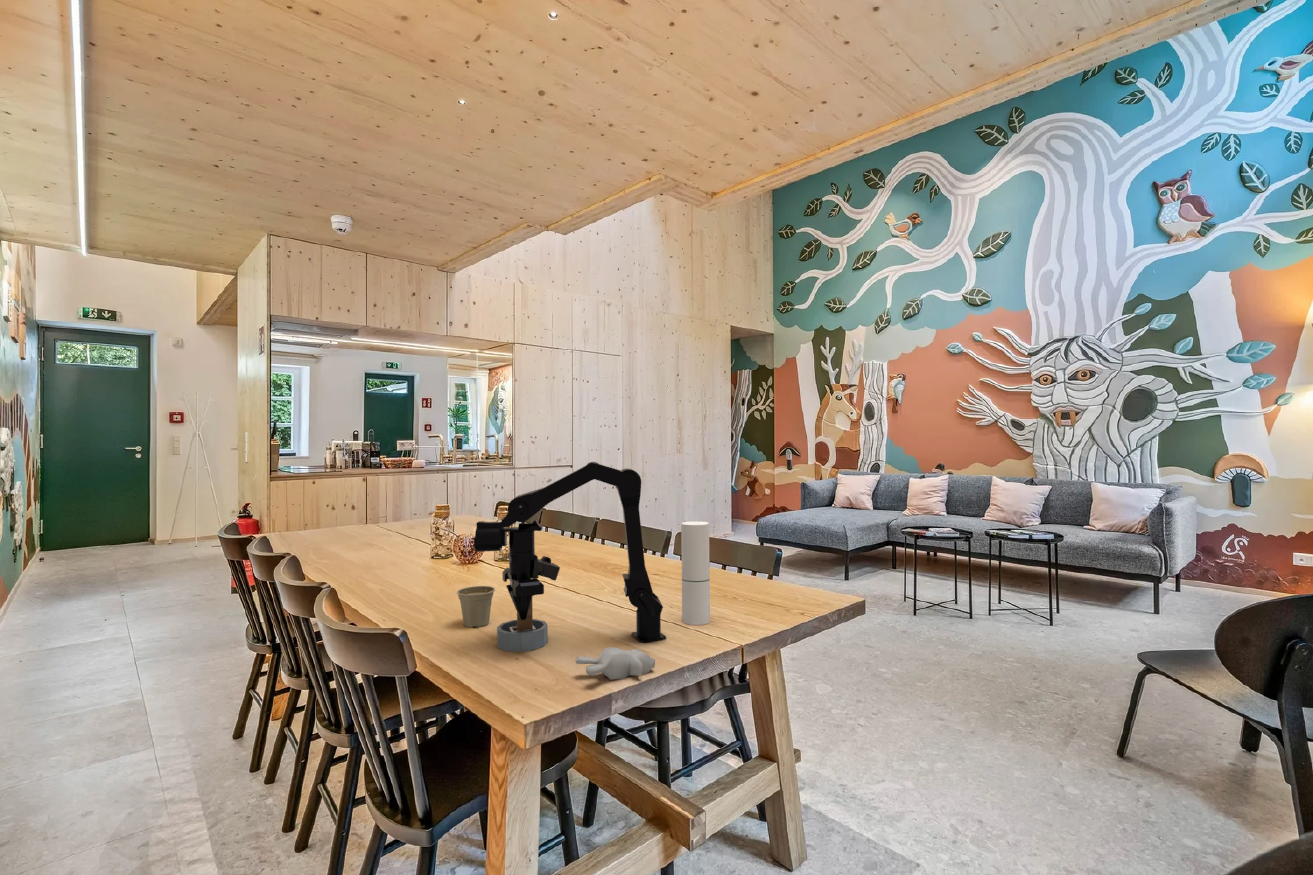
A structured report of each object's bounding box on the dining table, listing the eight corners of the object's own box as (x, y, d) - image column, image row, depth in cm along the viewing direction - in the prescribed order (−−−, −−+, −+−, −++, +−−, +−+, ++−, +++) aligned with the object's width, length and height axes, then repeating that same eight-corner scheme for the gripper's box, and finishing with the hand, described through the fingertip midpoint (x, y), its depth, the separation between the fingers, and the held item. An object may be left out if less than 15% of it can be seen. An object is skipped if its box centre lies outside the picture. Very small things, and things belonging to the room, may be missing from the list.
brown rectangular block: (532, 635, 140) (532, 595, 140) (518, 636, 138) (518, 597, 138) (531, 632, 141) (530, 594, 141) (517, 634, 140) (516, 595, 140)
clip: (535, 639, 139) (535, 628, 139) (512, 643, 137) (511, 631, 137) (532, 635, 142) (532, 624, 142) (509, 638, 140) (509, 627, 140)
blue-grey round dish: (551, 647, 137) (551, 629, 137) (501, 654, 132) (501, 636, 132) (541, 633, 147) (541, 616, 147) (494, 639, 142) (494, 622, 142)
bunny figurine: (662, 656, 120) (591, 660, 113) (660, 682, 119) (588, 688, 112) (641, 642, 128) (574, 645, 121) (639, 666, 128) (571, 671, 121)
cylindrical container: (710, 617, 159) (709, 521, 159) (709, 625, 152) (708, 525, 152) (682, 616, 160) (682, 521, 160) (681, 624, 153) (680, 525, 153)
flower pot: (449, 628, 151) (449, 593, 151) (469, 617, 160) (469, 584, 161) (483, 630, 149) (483, 595, 149) (502, 619, 158) (501, 586, 158)
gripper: (566, 554, 134) (567, 624, 134) (547, 541, 151) (548, 604, 151) (515, 558, 130) (516, 631, 130) (501, 545, 147) (502, 609, 147)
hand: (522, 618), depth 140 cm, fingers closed on brown rectangular block, 2 cm apart
